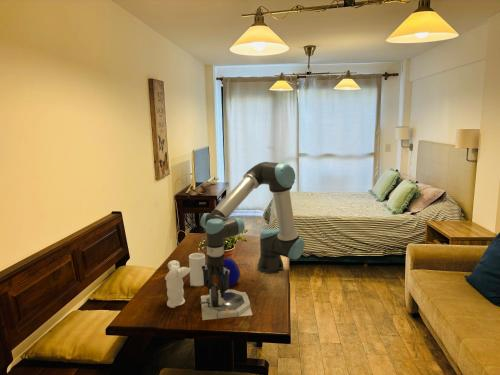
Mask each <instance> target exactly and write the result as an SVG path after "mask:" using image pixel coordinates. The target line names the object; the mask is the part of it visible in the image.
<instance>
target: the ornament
mask: <svg viewBox="0 0 500 375" xmlns="http://www.w3.org/2000/svg"><path fill="white" fill-rule="evenodd" d="M224 266H225V268H226V269H230V273H229V287H232V286H234V285H236V284H237V283H238V281H239V280H240V278H241V270H240V268H239V266H238V263H236V261H235V260H234V259H233V258H230V257H227V258H224ZM222 272H223V280H224V271H222Z"/></svg>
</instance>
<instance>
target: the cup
mask: <svg viewBox="0 0 500 375" xmlns="http://www.w3.org/2000/svg"><path fill="white" fill-rule="evenodd" d="M188 262H189V263H188V264H189V267H188V268H191V271H190V272H189V282H190V285H189V286H190V287H202V286H204V279H203V270H202V266H203V265H205V264H206V256H205V253H203V252H193V253H191V254H189V255H188Z"/></svg>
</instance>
